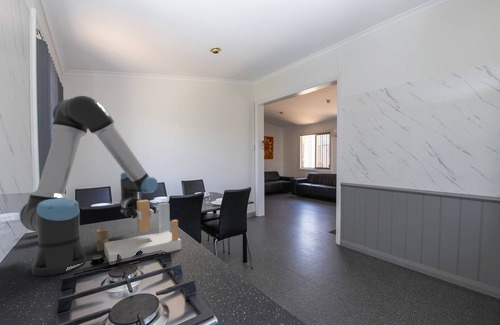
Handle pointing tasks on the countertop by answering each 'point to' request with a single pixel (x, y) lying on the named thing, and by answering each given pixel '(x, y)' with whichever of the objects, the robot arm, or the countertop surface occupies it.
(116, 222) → the countertop surface
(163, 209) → the pin long
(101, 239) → the pin short
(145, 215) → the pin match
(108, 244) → the hole block
